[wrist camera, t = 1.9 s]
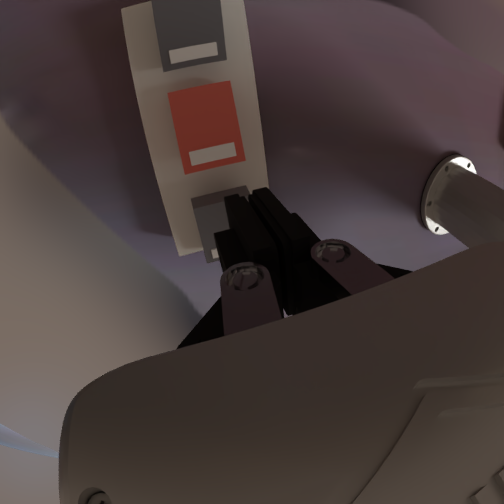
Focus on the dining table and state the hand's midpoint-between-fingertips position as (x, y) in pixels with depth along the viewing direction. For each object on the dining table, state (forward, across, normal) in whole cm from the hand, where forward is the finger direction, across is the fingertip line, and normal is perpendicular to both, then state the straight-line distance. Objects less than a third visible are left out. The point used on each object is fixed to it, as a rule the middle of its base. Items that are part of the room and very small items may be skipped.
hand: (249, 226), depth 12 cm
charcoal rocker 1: (+12, 0, -10) cm, 16 cm away
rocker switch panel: (+17, 0, -2) cm, 17 cm away
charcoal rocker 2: (+12, 0, +6) cm, 14 cm away
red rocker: (+12, 0, -2) cm, 12 cm away
